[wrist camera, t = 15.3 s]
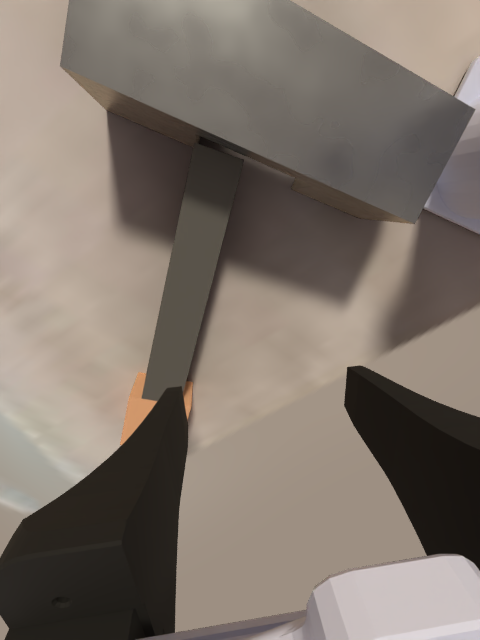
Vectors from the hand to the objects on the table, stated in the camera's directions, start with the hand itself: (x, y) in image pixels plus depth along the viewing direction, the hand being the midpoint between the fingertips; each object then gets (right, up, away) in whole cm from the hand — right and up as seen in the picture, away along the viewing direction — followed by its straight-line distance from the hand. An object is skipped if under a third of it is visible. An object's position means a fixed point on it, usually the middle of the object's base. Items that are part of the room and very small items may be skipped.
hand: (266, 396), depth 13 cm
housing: (0, +14, +4) cm, 15 cm away
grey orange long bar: (-5, +4, +8) cm, 10 cm away
